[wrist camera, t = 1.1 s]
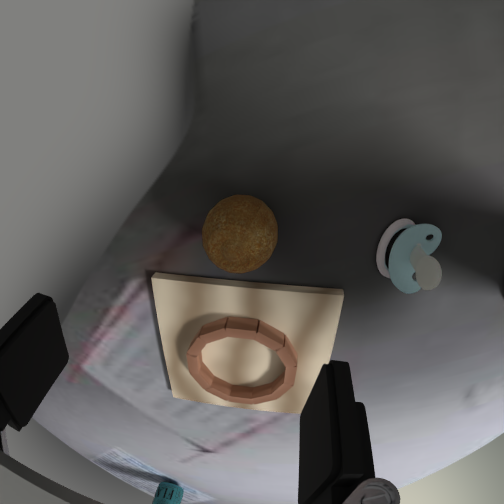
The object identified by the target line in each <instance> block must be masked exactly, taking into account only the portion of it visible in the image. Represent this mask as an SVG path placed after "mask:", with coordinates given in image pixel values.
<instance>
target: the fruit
mask: <svg viewBox="0 0 504 504" xmlns="http://www.w3.org/2000/svg"><path fill="white" fill-rule="evenodd" d="M202 240H203V247H204V249H205V251H206V253H207V255H208V257H209V259H210V260H211V261H212V262H213V263H214V264H215V265H216V266H217V267H218V268H220V269H223V270H225V271H227V272H229V273H246V272H249V271H252V270H256V269H257V268H259V267H260V266H261V265H262V264H264V263H265V262H266V261H267V260H268V259H269V258H270V257H271V255H272V253H273V251H274V249H275V247H276V244H277V240H278V224H277V221H276V219H275V216H274V214H273V211H272V210H271V209H270V208H269V207H268V206H267V205H266V204H265V203H264V202H263V201H262V200H260V199H257V198H255V197H253V196H251V195H233V196H230V197H228V198H225V199H222V200H221V201H219V202H218V203H217V204H216V205H215V206H214V207H213V208H212V209H211V210H210V211H209V213H208V215H207V217H206V220H205V222H204V225H203V227H202Z"/></svg>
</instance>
